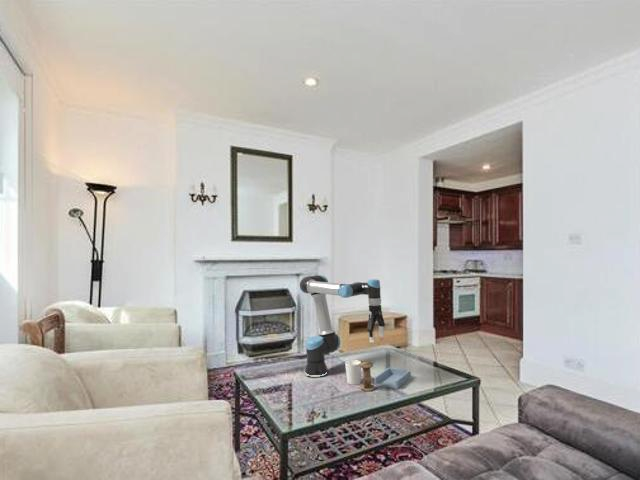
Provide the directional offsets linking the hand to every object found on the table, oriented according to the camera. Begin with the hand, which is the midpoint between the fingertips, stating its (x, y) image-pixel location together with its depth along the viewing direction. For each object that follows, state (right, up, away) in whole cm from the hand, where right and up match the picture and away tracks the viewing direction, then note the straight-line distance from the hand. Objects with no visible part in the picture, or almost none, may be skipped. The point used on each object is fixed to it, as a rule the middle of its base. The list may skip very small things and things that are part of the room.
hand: (376, 339), depth 211 cm
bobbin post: (-7, -24, -13) cm, 29 cm away
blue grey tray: (+9, -24, -4) cm, 26 cm away
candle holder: (-14, -26, -2) cm, 29 cm away
